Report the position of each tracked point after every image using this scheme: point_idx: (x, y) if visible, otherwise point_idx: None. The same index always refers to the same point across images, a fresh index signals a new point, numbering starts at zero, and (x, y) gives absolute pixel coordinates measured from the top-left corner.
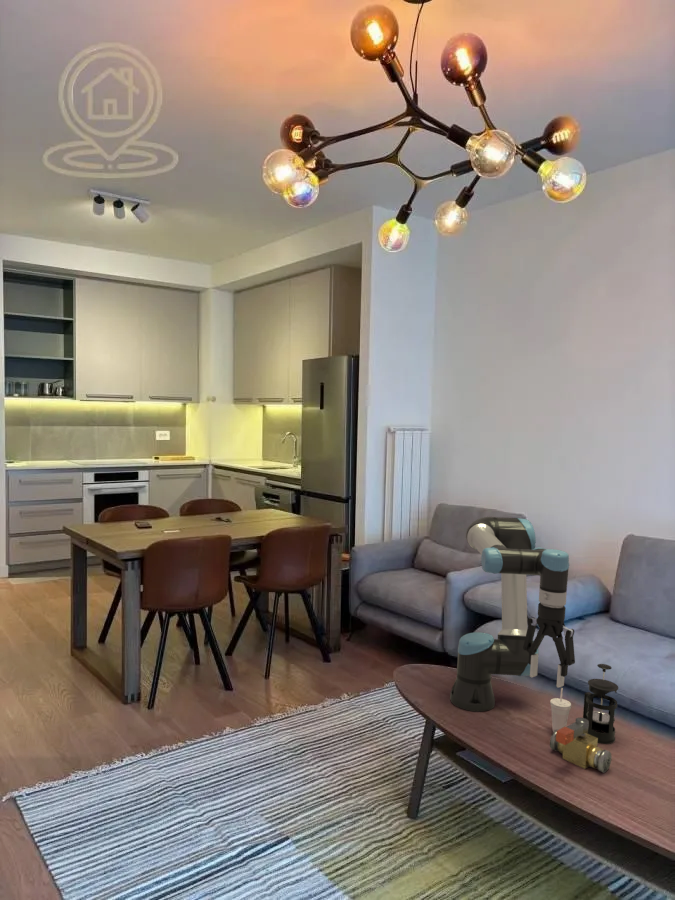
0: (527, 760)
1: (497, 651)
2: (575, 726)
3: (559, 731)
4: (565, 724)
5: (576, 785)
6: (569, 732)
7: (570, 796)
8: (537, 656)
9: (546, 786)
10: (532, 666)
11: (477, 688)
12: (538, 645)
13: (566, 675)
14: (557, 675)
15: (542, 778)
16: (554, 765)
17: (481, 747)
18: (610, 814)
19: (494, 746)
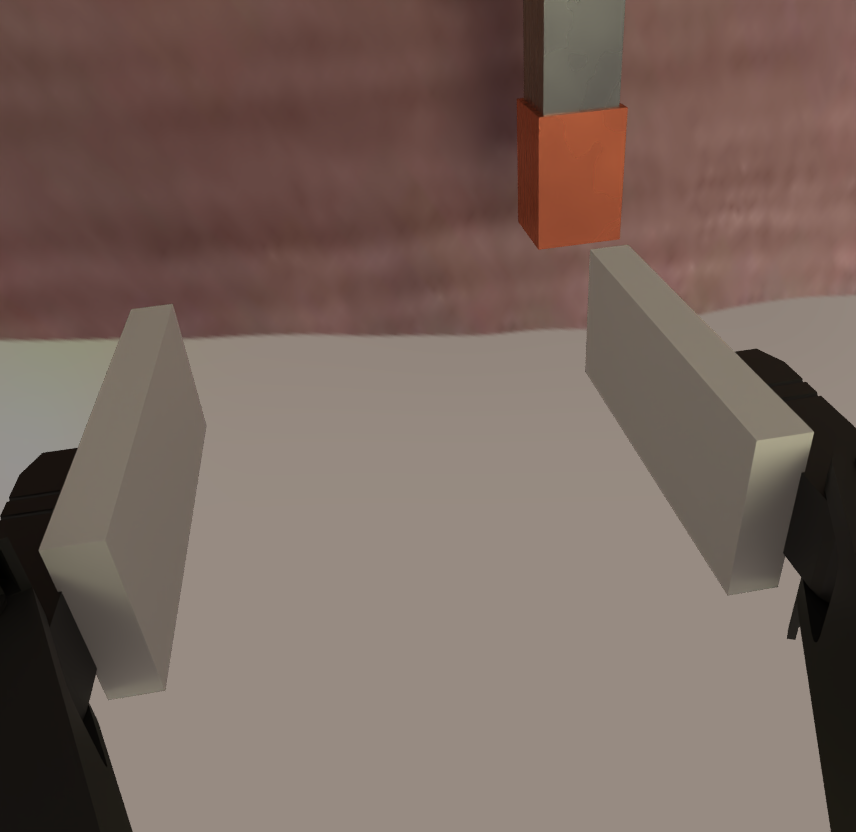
0: (308, 198)
1: None
2: (592, 6)
3: (557, 235)
4: None
5: (630, 171)
6: (617, 176)
7: None
8: (127, 539)
9: (533, 317)
10: (183, 535)
11: None
12: (108, 817)
13: (760, 356)
14: (650, 466)
15: (479, 277)
16: (436, 94)
17: (62, 326)
18: (843, 244)
19: (81, 248)
